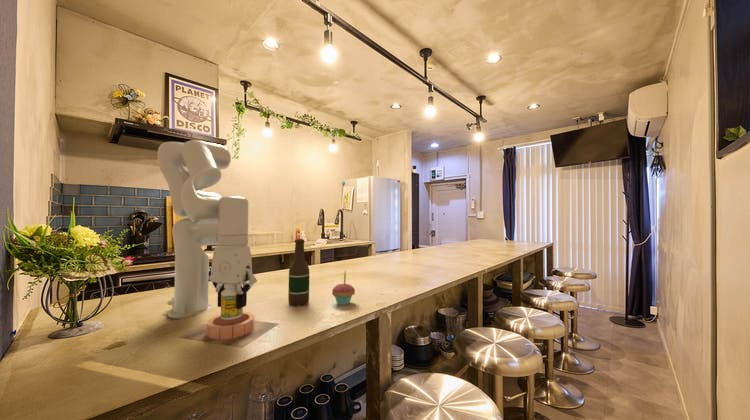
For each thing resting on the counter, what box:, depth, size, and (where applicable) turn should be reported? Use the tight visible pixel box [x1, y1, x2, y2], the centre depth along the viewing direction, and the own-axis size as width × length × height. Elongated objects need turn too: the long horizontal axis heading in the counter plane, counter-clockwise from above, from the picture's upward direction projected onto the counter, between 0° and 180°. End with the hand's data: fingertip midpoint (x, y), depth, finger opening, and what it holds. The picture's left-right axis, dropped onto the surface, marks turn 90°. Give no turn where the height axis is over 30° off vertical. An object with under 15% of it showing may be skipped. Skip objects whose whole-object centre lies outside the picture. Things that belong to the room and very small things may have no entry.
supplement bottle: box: [220, 283, 244, 320], centre depth 77 cm, size 5×5×10 cm
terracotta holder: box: [206, 311, 255, 340], centre depth 77 cm, size 11×11×3 cm
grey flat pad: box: [178, 320, 279, 349], centre depth 77 cm, size 20×15×1 cm
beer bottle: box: [287, 238, 310, 307], centre depth 104 cm, size 8×8×24 cm
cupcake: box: [331, 269, 356, 306], centre depth 105 cm, size 9×8×12 cm
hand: (232, 305), depth 77 cm, fingers closed on supplement bottle, 5 cm apart
